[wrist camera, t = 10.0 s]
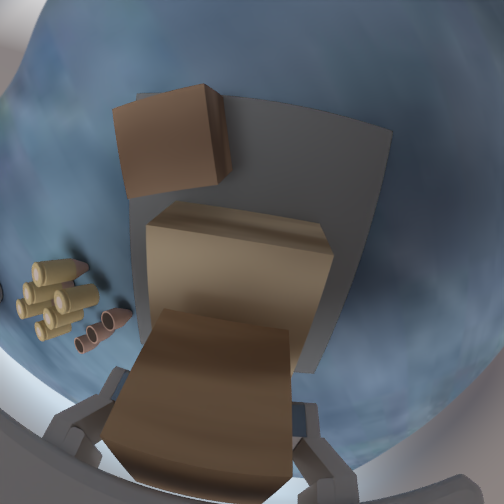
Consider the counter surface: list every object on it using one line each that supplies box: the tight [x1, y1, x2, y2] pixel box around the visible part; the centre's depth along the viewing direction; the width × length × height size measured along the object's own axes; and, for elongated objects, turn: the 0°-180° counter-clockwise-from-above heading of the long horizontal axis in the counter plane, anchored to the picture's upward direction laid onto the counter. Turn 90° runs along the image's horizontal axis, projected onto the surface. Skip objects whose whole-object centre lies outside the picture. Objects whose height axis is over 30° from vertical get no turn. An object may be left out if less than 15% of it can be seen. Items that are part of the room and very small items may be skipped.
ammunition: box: [16, 258, 133, 354], centre depth 17 cm, size 5×7×8 cm
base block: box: [146, 201, 334, 377], centre depth 15 cm, size 10×8×4 cm
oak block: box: [100, 308, 293, 504], centre depth 9 cm, size 5×5×6 cm
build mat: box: [129, 93, 393, 374], centre depth 16 cm, size 18×14×1 cm
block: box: [112, 84, 232, 199], centre depth 11 cm, size 4×4×4 cm
